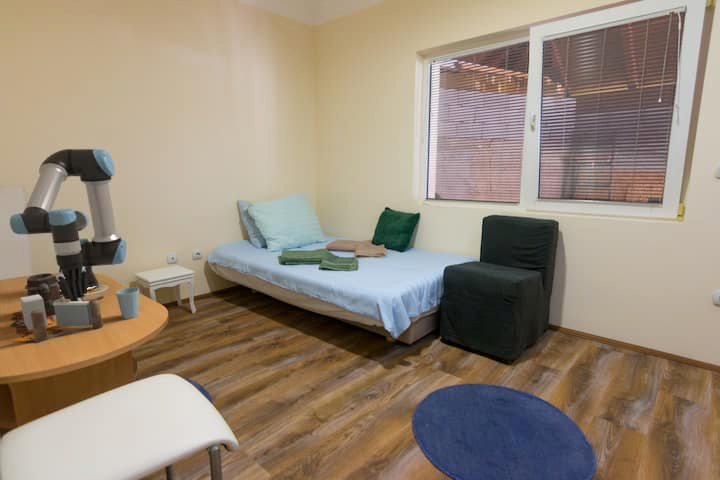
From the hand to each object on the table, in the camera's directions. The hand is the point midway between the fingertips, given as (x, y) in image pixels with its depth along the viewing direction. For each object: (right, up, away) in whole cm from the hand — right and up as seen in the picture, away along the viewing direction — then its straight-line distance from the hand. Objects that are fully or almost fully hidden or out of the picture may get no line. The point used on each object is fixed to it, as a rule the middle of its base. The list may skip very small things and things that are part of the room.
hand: (79, 314), depth 143 cm
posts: (+2, -5, -7) cm, 9 cm away
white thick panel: (+1, -3, -3) cm, 5 cm away
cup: (+14, -2, +8) cm, 16 cm away
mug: (-20, -2, +11) cm, 23 cm away
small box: (-15, -4, -1) cm, 16 cm away
